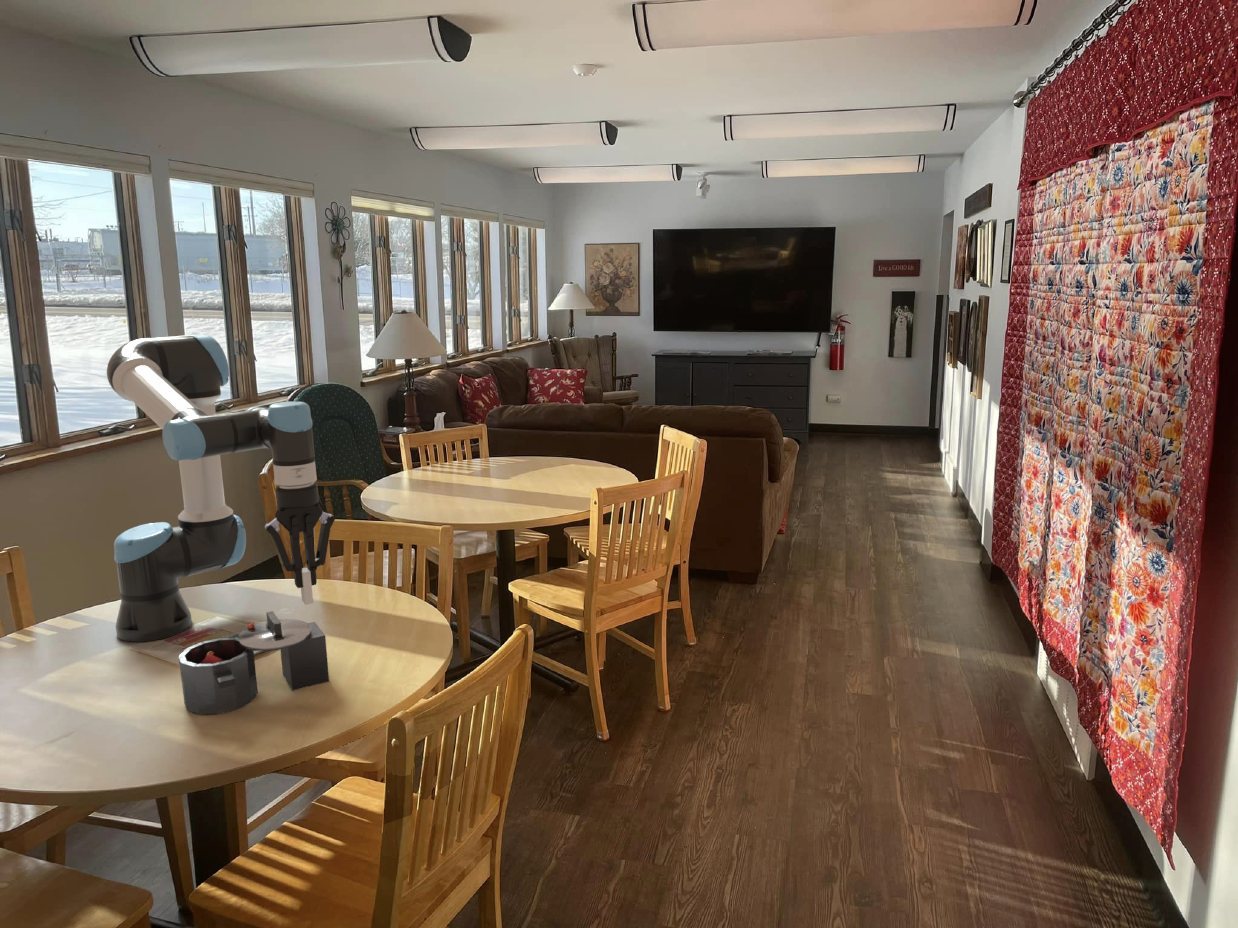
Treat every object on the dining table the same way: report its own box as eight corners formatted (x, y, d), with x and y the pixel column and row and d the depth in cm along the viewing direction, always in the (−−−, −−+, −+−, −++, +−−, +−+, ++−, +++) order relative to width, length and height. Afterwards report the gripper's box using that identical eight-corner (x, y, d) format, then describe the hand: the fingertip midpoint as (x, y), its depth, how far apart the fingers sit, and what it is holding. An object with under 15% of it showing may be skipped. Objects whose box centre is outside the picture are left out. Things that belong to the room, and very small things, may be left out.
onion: (219, 693, 165) (212, 650, 166) (191, 699, 166) (185, 656, 167) (238, 688, 171) (231, 646, 172) (211, 693, 172) (205, 652, 173)
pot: (178, 685, 174) (172, 639, 172) (246, 670, 180) (241, 625, 178) (193, 731, 157) (187, 680, 155) (267, 712, 163) (262, 663, 161)
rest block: (282, 674, 178) (278, 629, 176) (318, 666, 182) (314, 621, 180) (292, 690, 172) (287, 643, 169) (329, 681, 175) (325, 635, 173)
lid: (233, 632, 174) (231, 613, 173) (301, 618, 181) (300, 600, 180) (246, 656, 163) (243, 636, 162) (318, 640, 170) (316, 621, 169)
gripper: (264, 493, 162) (276, 615, 167) (336, 483, 169) (346, 600, 174) (255, 485, 168) (268, 602, 173) (326, 475, 175) (336, 589, 180)
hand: (307, 601), depth 174 cm, fingers closed
